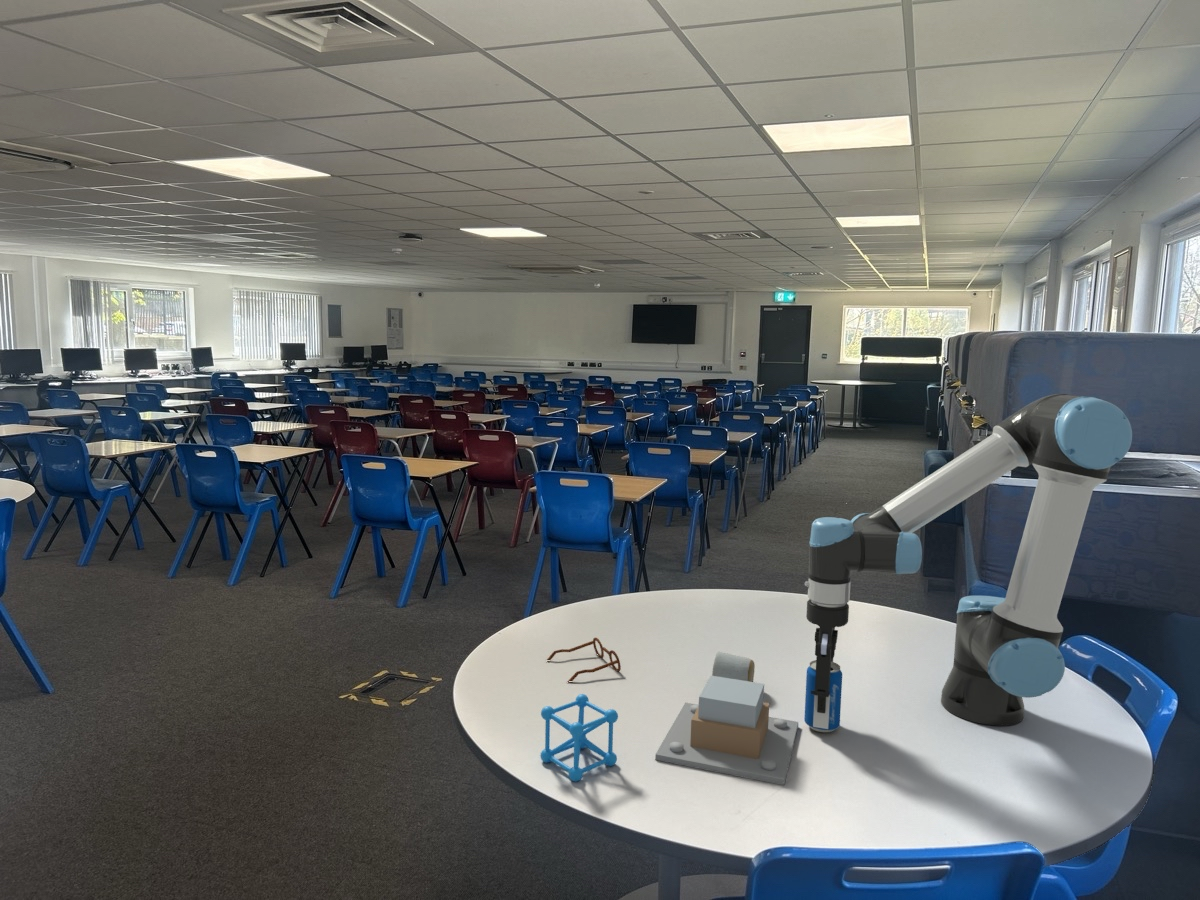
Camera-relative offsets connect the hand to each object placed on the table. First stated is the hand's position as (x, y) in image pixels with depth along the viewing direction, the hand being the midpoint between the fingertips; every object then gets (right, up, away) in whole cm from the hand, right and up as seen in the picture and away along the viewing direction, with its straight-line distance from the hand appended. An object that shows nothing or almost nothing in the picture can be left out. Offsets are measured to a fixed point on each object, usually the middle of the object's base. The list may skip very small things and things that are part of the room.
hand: (822, 718), depth 152 cm
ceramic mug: (-14, 0, +18) cm, 23 cm away
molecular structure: (-46, -3, -14) cm, 48 cm away
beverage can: (0, -2, 0) cm, 2 cm away
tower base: (-18, -2, -6) cm, 20 cm away
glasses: (-46, +2, +27) cm, 53 cm away
